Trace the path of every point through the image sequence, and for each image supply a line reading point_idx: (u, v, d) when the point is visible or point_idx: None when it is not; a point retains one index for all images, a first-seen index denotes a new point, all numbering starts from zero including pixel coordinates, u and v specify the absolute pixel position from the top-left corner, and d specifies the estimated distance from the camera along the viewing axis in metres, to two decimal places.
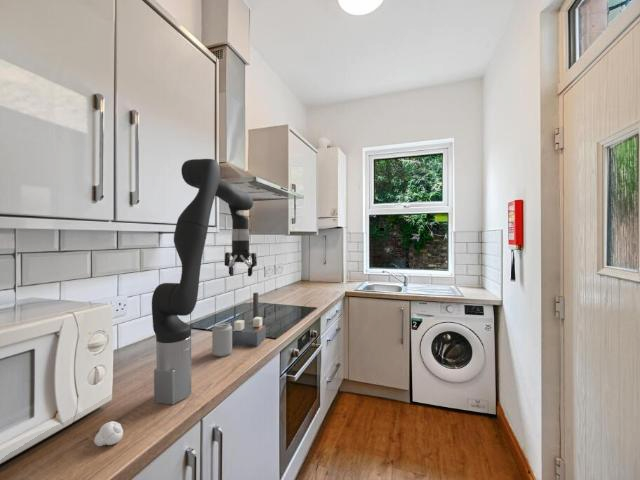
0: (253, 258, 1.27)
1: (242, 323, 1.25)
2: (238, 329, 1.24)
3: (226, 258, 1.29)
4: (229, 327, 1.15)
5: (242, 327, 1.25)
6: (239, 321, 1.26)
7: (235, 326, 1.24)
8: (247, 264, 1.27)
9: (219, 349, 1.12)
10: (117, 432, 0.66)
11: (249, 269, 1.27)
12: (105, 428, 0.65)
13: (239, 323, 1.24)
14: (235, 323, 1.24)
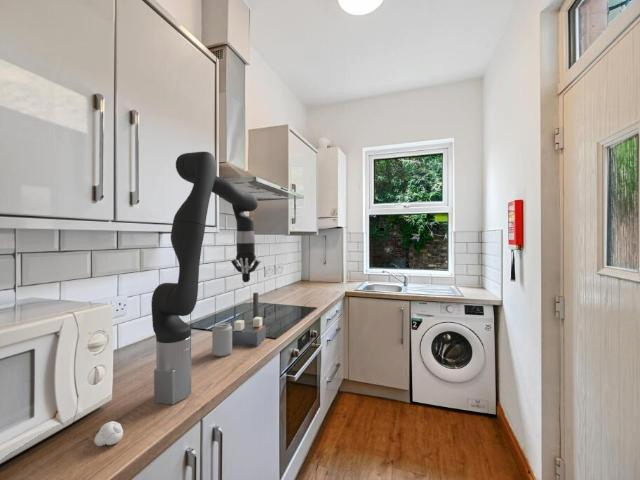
0: (254, 265, 1.23)
1: (242, 323, 1.25)
2: (238, 329, 1.24)
3: (235, 265, 1.24)
4: (229, 327, 1.15)
5: (242, 327, 1.25)
6: (239, 321, 1.26)
7: (235, 326, 1.24)
8: (246, 269, 1.24)
9: (219, 349, 1.12)
10: (117, 432, 0.66)
11: (246, 275, 1.24)
12: (105, 428, 0.65)
13: (239, 323, 1.24)
14: (235, 323, 1.24)
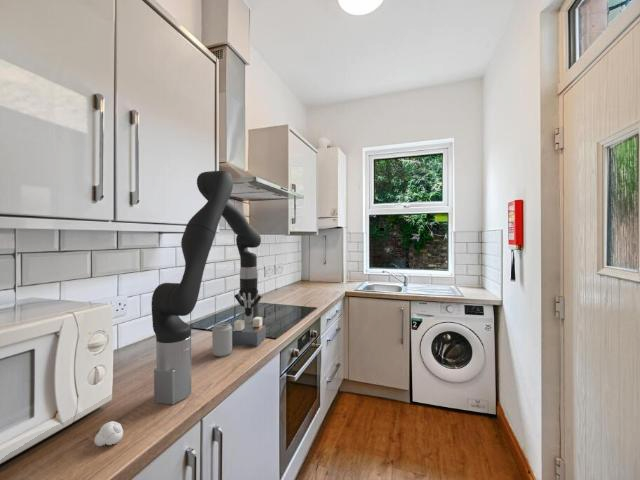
0: (257, 300, 1.26)
1: (242, 323, 1.25)
2: (238, 329, 1.24)
3: (238, 299, 1.28)
4: (229, 327, 1.15)
5: (242, 327, 1.25)
6: (239, 321, 1.26)
7: (235, 326, 1.24)
8: (249, 303, 1.27)
9: (219, 349, 1.12)
10: (117, 432, 0.66)
11: (249, 309, 1.27)
12: (105, 428, 0.65)
13: (239, 323, 1.24)
14: (235, 323, 1.24)
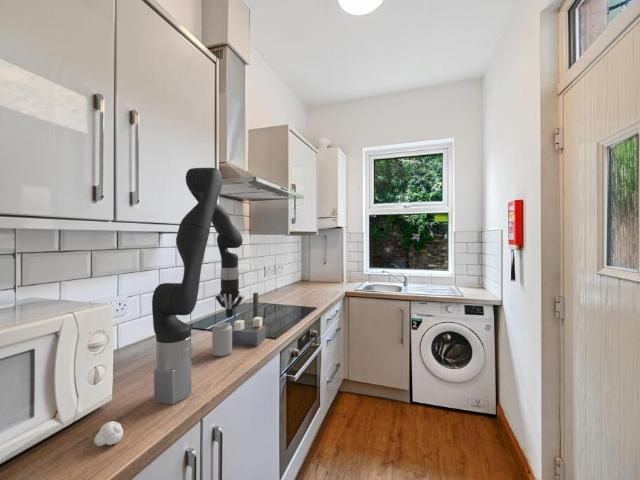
0: (238, 301, 1.25)
1: (242, 323, 1.25)
2: (238, 329, 1.24)
3: (219, 300, 1.26)
4: (229, 327, 1.15)
5: (242, 327, 1.25)
6: (239, 321, 1.26)
7: (235, 326, 1.24)
8: (229, 304, 1.25)
9: (219, 349, 1.12)
10: (117, 432, 0.66)
11: (230, 310, 1.26)
12: (105, 428, 0.65)
13: (239, 323, 1.24)
14: (235, 323, 1.24)
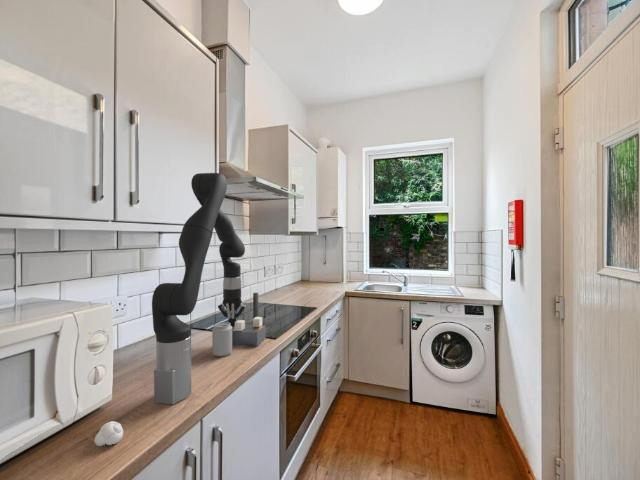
0: (240, 311, 1.24)
1: (243, 323, 1.25)
2: (239, 329, 1.24)
3: (222, 310, 1.26)
4: (229, 327, 1.15)
5: (243, 327, 1.25)
6: (240, 321, 1.26)
7: (236, 326, 1.24)
8: (232, 314, 1.25)
9: (219, 349, 1.12)
10: (117, 432, 0.66)
11: (232, 320, 1.25)
12: (105, 428, 0.65)
13: (240, 323, 1.24)
14: (236, 323, 1.24)
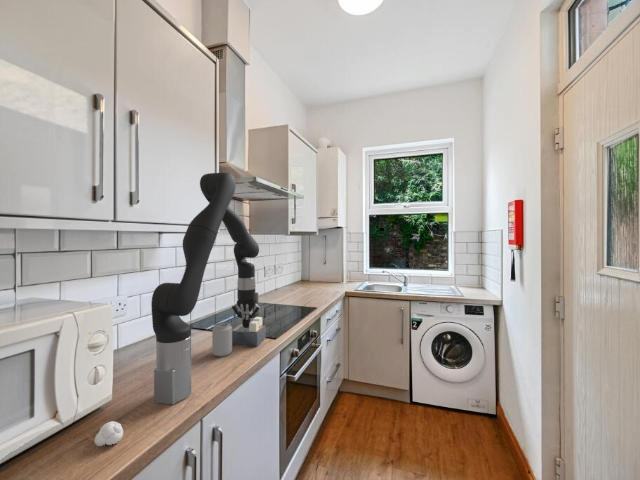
0: (255, 312, 1.23)
1: (257, 324, 1.24)
2: (253, 330, 1.23)
3: (236, 311, 1.25)
4: (229, 327, 1.15)
5: (257, 328, 1.24)
6: (254, 322, 1.24)
7: (250, 327, 1.23)
8: (246, 315, 1.24)
9: (219, 349, 1.12)
10: (117, 432, 0.66)
11: (247, 321, 1.24)
12: (105, 428, 0.65)
13: (254, 324, 1.23)
14: (250, 324, 1.23)
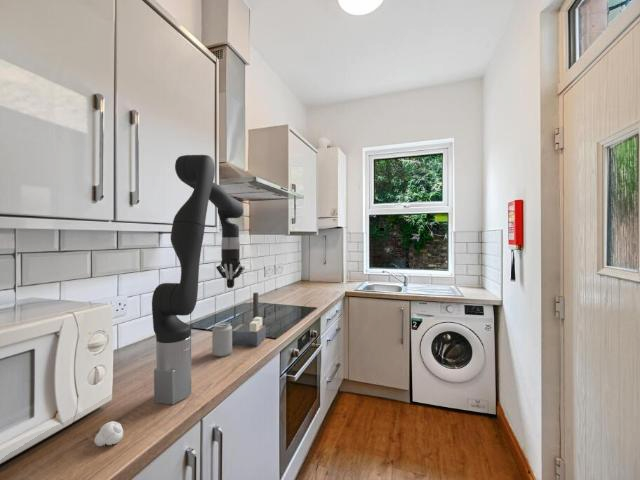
0: (239, 271, 1.24)
1: (257, 324, 1.24)
2: (253, 330, 1.23)
3: (220, 271, 1.25)
4: (229, 327, 1.15)
5: (257, 328, 1.24)
6: (254, 322, 1.24)
7: (251, 327, 1.23)
8: (230, 275, 1.25)
9: (219, 349, 1.12)
10: (117, 432, 0.66)
11: (230, 281, 1.25)
12: (105, 428, 0.65)
13: (254, 324, 1.23)
14: (250, 324, 1.23)
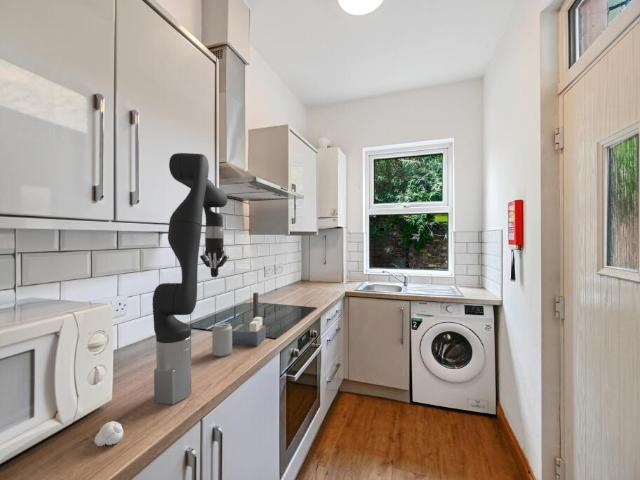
0: (222, 260, 1.24)
1: (257, 324, 1.24)
2: (253, 330, 1.23)
3: (204, 260, 1.26)
4: (229, 327, 1.15)
5: (257, 328, 1.24)
6: (254, 322, 1.24)
7: (251, 327, 1.23)
8: (214, 264, 1.25)
9: (219, 349, 1.12)
10: (117, 432, 0.66)
11: (214, 270, 1.25)
12: (105, 428, 0.65)
13: (254, 324, 1.23)
14: (250, 324, 1.23)
